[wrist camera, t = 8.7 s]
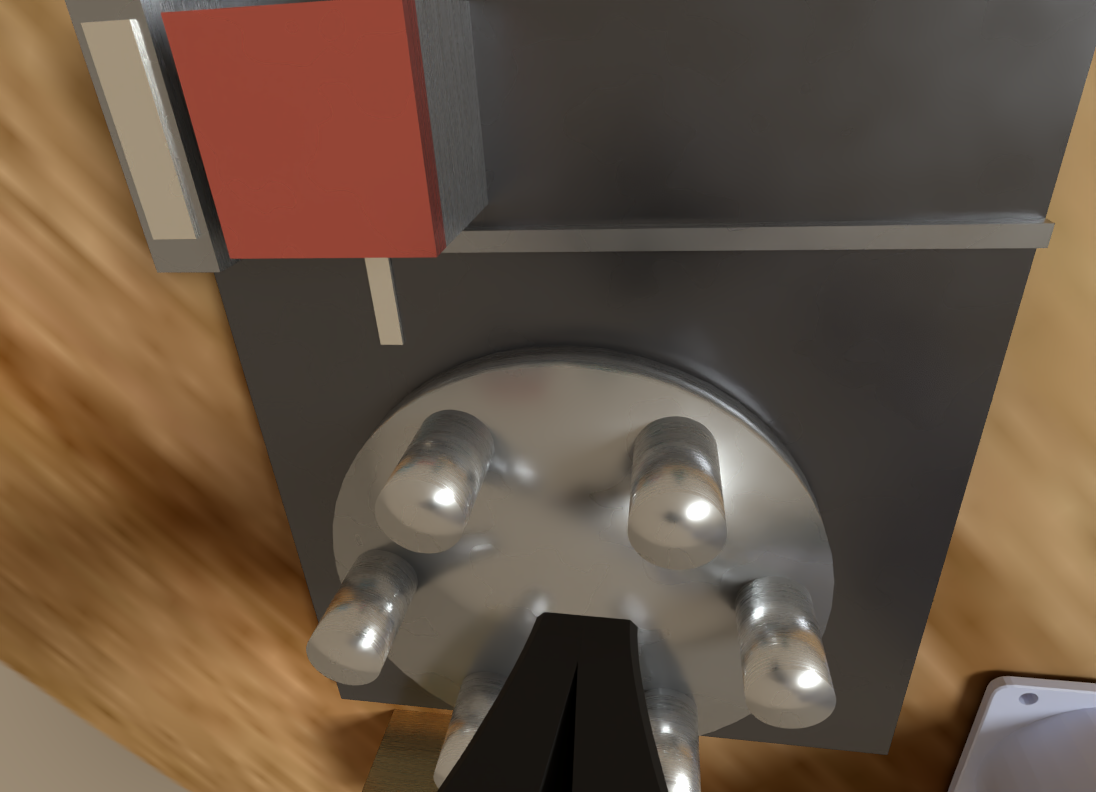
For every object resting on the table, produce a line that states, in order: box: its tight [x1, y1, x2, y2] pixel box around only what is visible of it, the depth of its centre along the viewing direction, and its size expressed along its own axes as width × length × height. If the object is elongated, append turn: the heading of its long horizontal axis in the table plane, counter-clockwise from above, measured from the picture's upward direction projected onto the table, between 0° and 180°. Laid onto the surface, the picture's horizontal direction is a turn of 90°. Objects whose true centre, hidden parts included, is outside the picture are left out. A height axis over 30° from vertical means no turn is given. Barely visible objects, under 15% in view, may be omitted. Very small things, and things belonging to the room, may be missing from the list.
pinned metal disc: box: [306, 346, 836, 792], centre depth 18 cm, size 14×14×4 cm
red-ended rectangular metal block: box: [161, 0, 488, 259], centre depth 13 cm, size 4×4×4 cm
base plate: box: [65, 0, 1096, 755], centre depth 18 cm, size 19×23×3 cm
